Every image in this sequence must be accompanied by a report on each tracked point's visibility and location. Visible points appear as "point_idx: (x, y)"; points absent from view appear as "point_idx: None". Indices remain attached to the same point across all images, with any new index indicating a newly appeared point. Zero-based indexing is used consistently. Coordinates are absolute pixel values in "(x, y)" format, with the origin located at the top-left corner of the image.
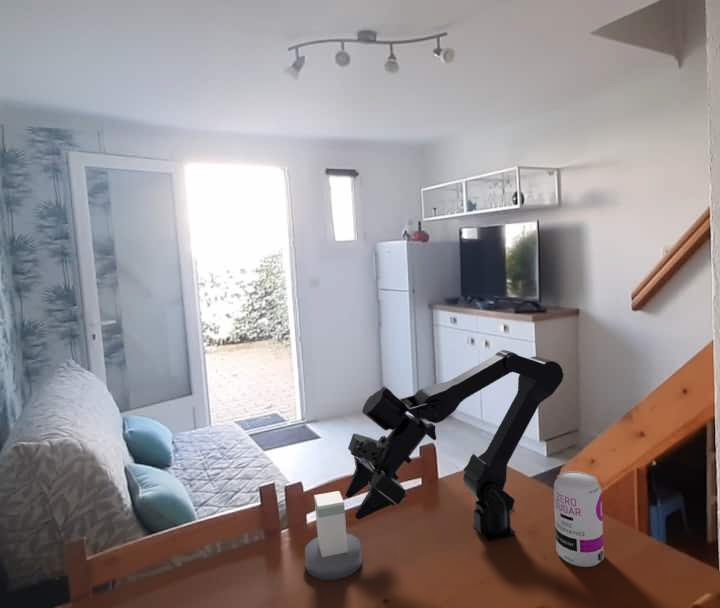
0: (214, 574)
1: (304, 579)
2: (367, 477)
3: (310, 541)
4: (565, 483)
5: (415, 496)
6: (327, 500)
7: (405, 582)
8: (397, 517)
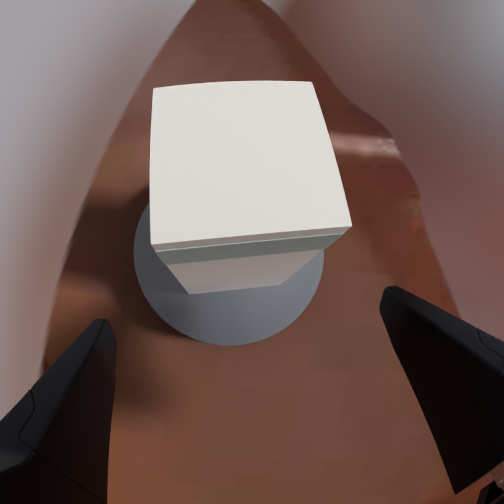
0: (247, 35)
1: None
2: (462, 439)
3: None
4: None
5: None
6: (213, 135)
7: None
8: (414, 449)
